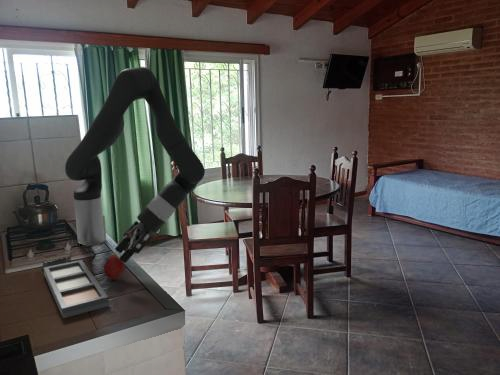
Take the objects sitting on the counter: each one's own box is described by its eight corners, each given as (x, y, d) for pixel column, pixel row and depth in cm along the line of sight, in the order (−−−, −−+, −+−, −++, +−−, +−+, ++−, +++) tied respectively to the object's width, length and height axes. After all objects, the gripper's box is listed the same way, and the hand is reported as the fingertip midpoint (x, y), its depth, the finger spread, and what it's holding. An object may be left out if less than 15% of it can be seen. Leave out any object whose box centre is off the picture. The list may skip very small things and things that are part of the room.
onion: (106, 285, 116) (103, 259, 115) (103, 278, 121) (101, 252, 120) (126, 281, 119) (125, 255, 117) (123, 274, 124) (121, 249, 122)
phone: (41, 268, 126) (46, 252, 140) (42, 272, 127) (46, 255, 140) (69, 265, 129) (71, 249, 143) (69, 268, 129) (71, 252, 143)
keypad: (44, 275, 123) (43, 267, 123) (82, 267, 129) (81, 259, 129) (62, 318, 98) (61, 308, 98) (108, 306, 104) (108, 296, 104)
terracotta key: (61, 297, 107) (61, 295, 107) (93, 289, 111) (93, 288, 111) (67, 309, 100) (67, 308, 100) (101, 301, 105) (101, 299, 104)
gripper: (142, 200, 127) (106, 241, 124) (152, 211, 114) (113, 256, 112) (160, 215, 130) (125, 255, 127) (172, 227, 117) (134, 271, 115)
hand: (119, 255), depth 119 cm, fingers open, 8 cm apart
